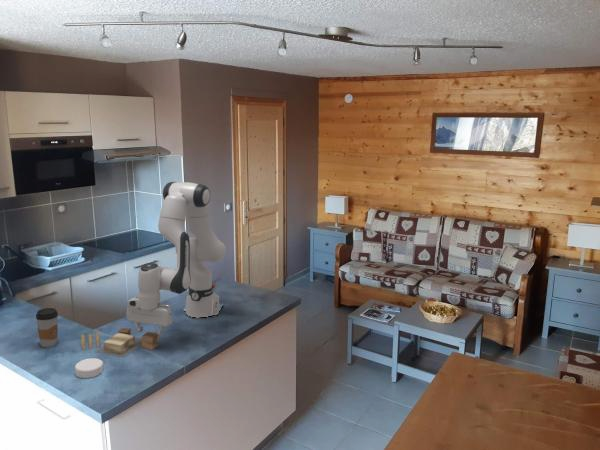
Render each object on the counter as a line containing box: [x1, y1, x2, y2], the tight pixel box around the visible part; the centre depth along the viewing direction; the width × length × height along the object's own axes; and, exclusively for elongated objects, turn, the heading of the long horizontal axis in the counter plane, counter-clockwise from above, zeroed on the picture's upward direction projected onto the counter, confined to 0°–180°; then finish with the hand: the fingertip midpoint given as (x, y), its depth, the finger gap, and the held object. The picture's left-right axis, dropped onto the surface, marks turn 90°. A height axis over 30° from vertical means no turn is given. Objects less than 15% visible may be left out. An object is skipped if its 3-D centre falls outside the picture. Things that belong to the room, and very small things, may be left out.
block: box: [117, 327, 132, 335], centre depth 215 cm, size 4×4×4 cm
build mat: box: [94, 337, 142, 359], centre depth 209 cm, size 18×14×1 cm
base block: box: [103, 333, 135, 355], centre depth 206 cm, size 10×8×4 cm
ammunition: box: [80, 332, 101, 351], centre depth 208 cm, size 5×7×8 cm
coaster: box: [74, 357, 104, 379], centre depth 188 cm, size 10×10×4 cm
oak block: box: [141, 331, 160, 351], centre depth 209 cm, size 5×5×6 cm
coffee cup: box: [35, 307, 59, 348], centre depth 207 cm, size 8×8×15 cm
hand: (149, 332), depth 208 cm, fingers open, 8 cm apart
